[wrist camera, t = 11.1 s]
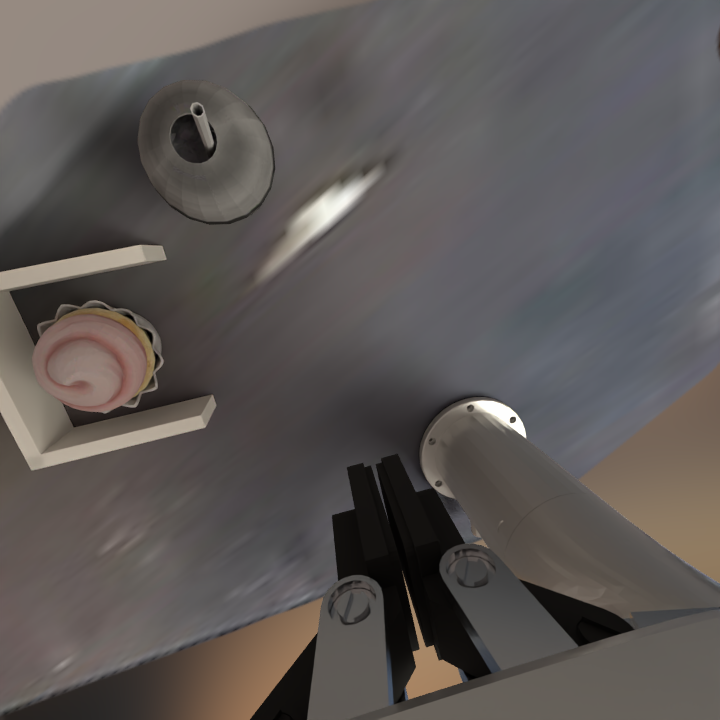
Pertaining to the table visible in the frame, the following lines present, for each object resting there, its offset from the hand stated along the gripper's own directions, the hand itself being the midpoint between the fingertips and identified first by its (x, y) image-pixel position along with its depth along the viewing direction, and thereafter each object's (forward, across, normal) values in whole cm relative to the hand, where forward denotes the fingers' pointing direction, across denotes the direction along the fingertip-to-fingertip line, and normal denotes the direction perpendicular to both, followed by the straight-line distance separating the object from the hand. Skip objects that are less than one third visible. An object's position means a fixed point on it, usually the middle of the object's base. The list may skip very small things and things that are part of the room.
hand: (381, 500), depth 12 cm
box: (+26, +19, -4) cm, 32 cm away
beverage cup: (+26, +5, -15) cm, 31 cm away
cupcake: (+26, +18, -4) cm, 32 cm away
